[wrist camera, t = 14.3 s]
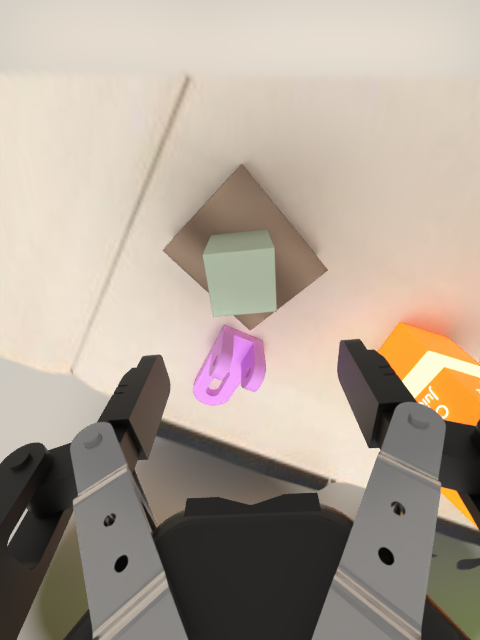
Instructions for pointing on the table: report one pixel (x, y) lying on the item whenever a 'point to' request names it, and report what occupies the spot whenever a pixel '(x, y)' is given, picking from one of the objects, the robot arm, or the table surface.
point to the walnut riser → (240, 216)
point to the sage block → (241, 273)
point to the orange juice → (436, 379)
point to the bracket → (231, 367)
